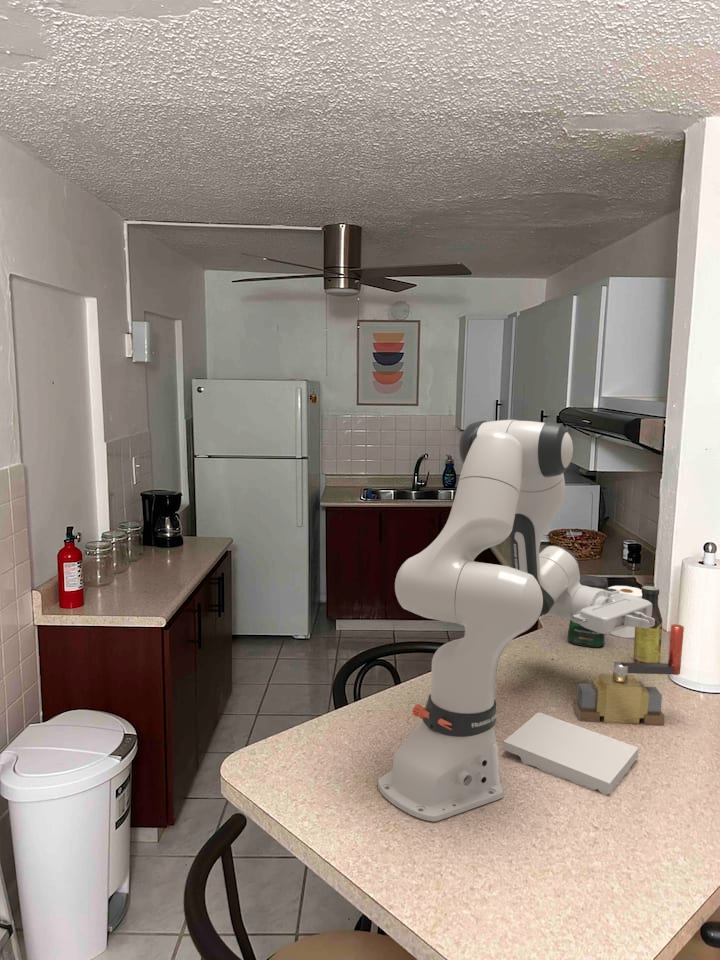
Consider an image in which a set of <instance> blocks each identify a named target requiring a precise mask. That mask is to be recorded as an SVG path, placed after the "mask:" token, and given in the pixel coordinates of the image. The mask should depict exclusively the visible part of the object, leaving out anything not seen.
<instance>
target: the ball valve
mask: <svg viewBox="0 0 720 960" xmlns="http://www.w3.org/2000/svg"><path fill="white" fill-rule="evenodd" d="M662 697H663V695H662V694H661V693H660V691H659V690H658V689H657V687H656V686H644V684H643V683H642V682H641V681H639V680H637V678H636V677H635V676H634V675H633V674H628V681H626V682H619V681H616V680H614V679H613V673H598V678H597V679H596V678H591V682H590V683H578V684H577V698H573V705H572V706H573V707H572V708H573V710H574V713H575V715H576V717H577V719H578V720H579V722H590V723H591V722H594V723H595V722H597V723H599V722H600V719H601V720H602V721H603V723H608V724H609V723H613V724H614V723H615V724H629V725H630V724H631V725H632V724H633V725H639V724H640V720H641V722H642V723H643V725H648V726H649V725H650V726H651V725H652V726H665V718H666V717H665V715H664V713H663V712H662V699H663V698H662Z"/></svg>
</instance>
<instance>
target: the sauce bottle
mask: <svg viewBox="0 0 720 960" xmlns="http://www.w3.org/2000/svg"><path fill="white" fill-rule="evenodd" d="M641 590H642V591H641V592H642V599H645V600H648V601H649V602H651V603H652V616H651V618H654V619H655V625H654V626H652V627H650V628H647V629H645V628H641V627H635V636H634V639H633V640H634V641H633V655H632V656H633V657H632V658H633V663H660V661H661V651H662V638H663V637H662V636H663V632H662V631H663V618H662V615H661V611H660V607H659V595H660V588H659V587H656V586H651V585H644V586H641Z"/></svg>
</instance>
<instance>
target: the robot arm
mask: <svg viewBox="0 0 720 960" xmlns="http://www.w3.org/2000/svg"><path fill="white" fill-rule="evenodd" d="M458 445H459V450H458V451H459V457H460V460H461V462H462V464H463V465H462V468H461V471H460V475H459V478H458V479H459V480H458V482H457V488H456V490H455V495H454V500H453V503H452V505H451V506H452V507H451V510H450V512H449V515H448V518H447V520H446V523H445V524H444V527H443V528H442V529H441V531H440V532H439V534H438V535H437V537H436V538H435V539H434V540H433V541H432V542H431V543H430V544H429V545H428V546H427V547H426V548H424V549H423V550H422V551H420V552H419V553H417V554H415V555H413V556H411V557H409V558H407V559H406V560H405V561H404V562H403V563H402V564H401V566H400V567H399V569H398V571H397V573H396V577H395V580H394V581H395V582H394V592H395V596H396V598H397V599H396V600H397V602H398V604H399V606H401V608H402V609H403V610H406V611H408V612H411V613H413V614H415V615H417V616H420V617H423V618H426V619H429V620H436V621H441V622H447V623H453V624H458V625H460V626H464V635H463V637H461V638H457V639H454V640H451V641H448V642H446V643H443V645H441V646H439V648H437V650H436V651H435V653H434V655H433V656H432V659H431V673H430V674H431V675H430V676H431V677H430V678H431V680H430V682H431V683H430V694H429V695H428V699H427V701H426V704H425V706H422V705H421V704H419V703H417V704H415V705H414V706H413V708H412V715H413V716H414V717H416V718H417V717H418V718H419V719H420V720H421V721H420V723H419V724H418V726H416V728H415V729H414V730H413V731H412V732H411V734H410V735H409V736H408V737H407V738H406V740H405V741H404V742H403V743H402V744H401V745H400V747H398V749H397V751H395V754H394V756H393V757H394V758H393V761H392V762H393V763H392V769H391V770H389V771H388V772H387V773H385V774H384V775H382V776H381V777H380V778H379V779H377V780H378V782H377V788H378V790H379V792H380V794H381V795H382V796H383V797H384V798H385V799H386V800H388V802H389V803H391V804H392V805H394V806H395V807H397V808H398V809H400V810H402V811H403V812H405V813H407V814H409V815H411V816H413V817H415V818H418V819H421V820H425V821H428V822H438V821H441V820H444V819H447V818H450V817H452V816H456V815H458V814H462V813H465V812H467V811H469V810H472V809H476V808H478V807H481V806H483V805H487V804H490V803H492V802H495V801H498V800H500V799H503V798H504V788H503V785H502V784H501V773H500V765H499V762H500V761H499V750H498V749H499V748H498V743H497V739H496V733H495V725H496V723H497V715H498V710H497V700H496V699H495V695H496V694H495V693H496V692H495V691H496V680H497V672H498V667H499V661H500V659H501V656H502V654H503V652H504V650H505V649H506V647H507V646H509V644H510V643H511V642H512V641H513V639H515V638H516V637H518V636H519V635H522V634H523V633H525V632H527V631H528V630H530V629H531V628H532V627H533V626H534V625H535V624H536V622H537V621H538V620H539V618H540V616H545V615H548V616H549V615H550V616H552V617H555V618H559V619H567V620H569V621H570V620H572V621H573V622H575V623H578V624H580V625H581V626H582V627H585V628H587V629H590V630H592V631H595V632H598V633H602V634H605V635H609V634H610V633H611V632H614V631H616V630H619V629H622V628H624V627H627V626H629V627H641V628H645V629H647V628H650V627H652V626H654V625H655V619H654V618H651V616H652V603H651V602H649V601H648V600H645V599H642V598H639V597H636V596H632V595H629V594H624V593H620V591H619V590H618V589H613V588H611V589H610V588H609V589H599V588H592V587H589V586H584V585H581V584H580V582H579V581H580V574H581V571H580V566H579V565H580V564H579V561H578V559H577V557H576V555H575V554H574V552H572V551H570V550H569V549H568V548H566V547H563V546H561V545H554V544H553V545H547V546H545V548H543V550H542V551H540V546H541V542H542V540H543V536H544V534H545V532H546V531H547V530H548V528H549V526H550V524H551V523H552V521H553V519H554V518H555V517H556V516H557V514H558V512H559V511H560V510H561V508H562V507H563V504H564V500H565V494H566V481H565V475H564V473H565V472H566V471H567V470H568V469H569V467H570V465H571V462H572V459H573V455H574V444H573V440H572V435H571V433H570V430H569V429H567V428H566V427H565V425H564V424H561V423H558V422H553V421H545V422H542V421H541V422H540V421H533V420H517V419H500V420H491V421H487V420H481V421H475V422H472V423H470V424H468V425H467V426H466V427H465V429H464V430H463V431H462V433H461V436H460V439H459V444H458ZM508 538H509V551H510V552H509V553H510V565H511V566H508V565H501V564H495V563H494V564H493V563H488V562H487V563H486V562H481V561H480V562H479V561H475V559H477V557H478V555H480V554H481V553H482V552H483V551H485V550H487V549H489V548H492V547H495V546H498V545H500V544H502V543H503V542H504V541H506V539H508Z"/></svg>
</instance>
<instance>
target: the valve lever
mask: <svg viewBox="0 0 720 960" xmlns="http://www.w3.org/2000/svg"><path fill="white" fill-rule="evenodd" d="M684 630H685V627H684V626H683V625H681V624H675V623H674V624H671V626H670V637H669V648H668V661H667V662H668V663H664V662H663V663H660V662H659V663H634V662H625V661H614V662H613V665H612V674H613V679H614V680H616V681H619V682H626V681H628V675H629V674H638V675H639V674H642V675H643V674H645V675H646V674H647V675H673V676H674V675H675V676H679V675H680V674H681V667H682V666H681V665H682V657H683V656H682V655H683V642H684V632H685V631H684Z"/></svg>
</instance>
